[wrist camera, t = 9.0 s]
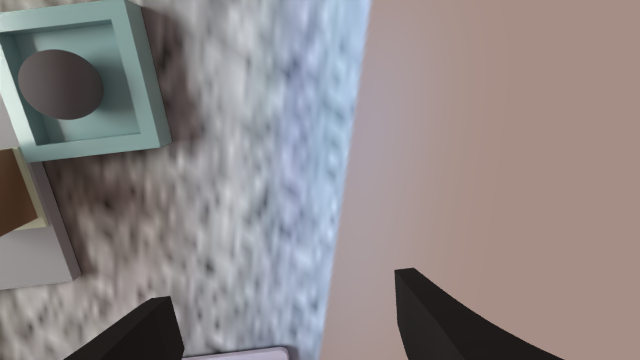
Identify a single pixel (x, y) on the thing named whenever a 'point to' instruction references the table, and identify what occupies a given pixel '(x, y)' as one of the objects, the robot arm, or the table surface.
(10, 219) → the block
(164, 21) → the table surface
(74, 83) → the ball
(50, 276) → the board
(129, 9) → the dish
